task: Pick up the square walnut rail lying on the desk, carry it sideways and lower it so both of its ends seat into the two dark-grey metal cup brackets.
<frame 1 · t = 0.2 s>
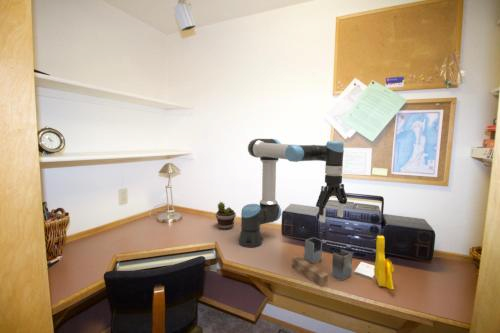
hand: (331, 219, 111), 27 cm above the table, fingers open, 13 cm apart
external hard drive: (366, 272, 116), on the table
bracket left: (313, 260, 126), on the table
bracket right: (339, 274, 113), on the table
rail: (308, 275, 112), on the table
flowerpot: (225, 227, 172), on the table
figure statuette: (382, 284, 106), on the table
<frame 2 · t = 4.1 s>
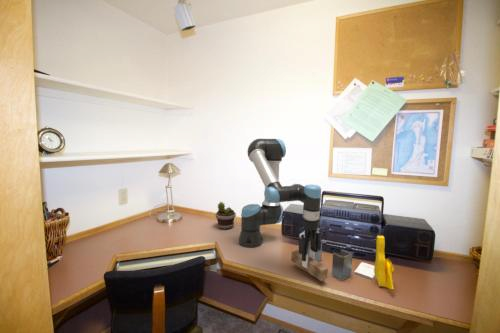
hand: (308, 265, 112), 5 cm above the table, fingers closed on rail, 4 cm apart
rail: (308, 269, 112), point 3 cm above the table, touching gripper
everything else where it was.
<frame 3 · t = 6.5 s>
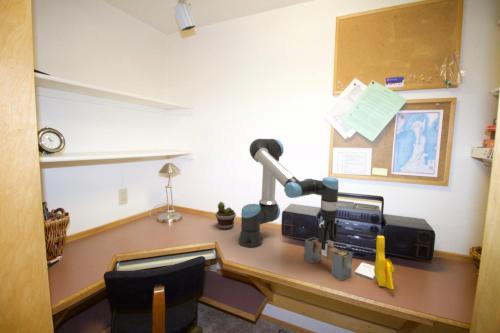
hand: (327, 254, 118), 7 cm above the table, fingers closed on rail, 4 cm apart
rail: (327, 256, 118), point 6 cm above the table, touching bracket left, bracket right, gripper
everything else where it was.
when the fingers open (5 cm above the table, at t = 7.1 s): rail stays where it is, resting on bracket left, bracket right.
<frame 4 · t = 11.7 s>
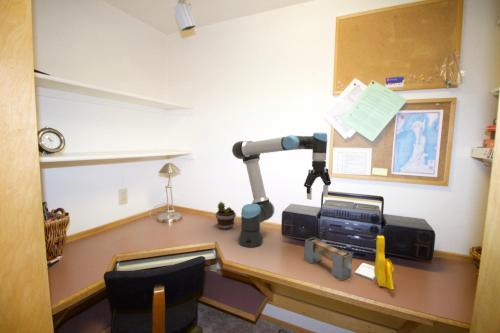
hand: (317, 197, 133), 32 cm above the table, fingers open, 13 cm apart
rail: (327, 256, 118), point 6 cm above the table, touching bracket left, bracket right
everything else where it was.
at the end: rail 0.4 cm from the target spot, point 6.0 cm above the table; rail tilted 0°; the gripper is holding nothing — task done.
